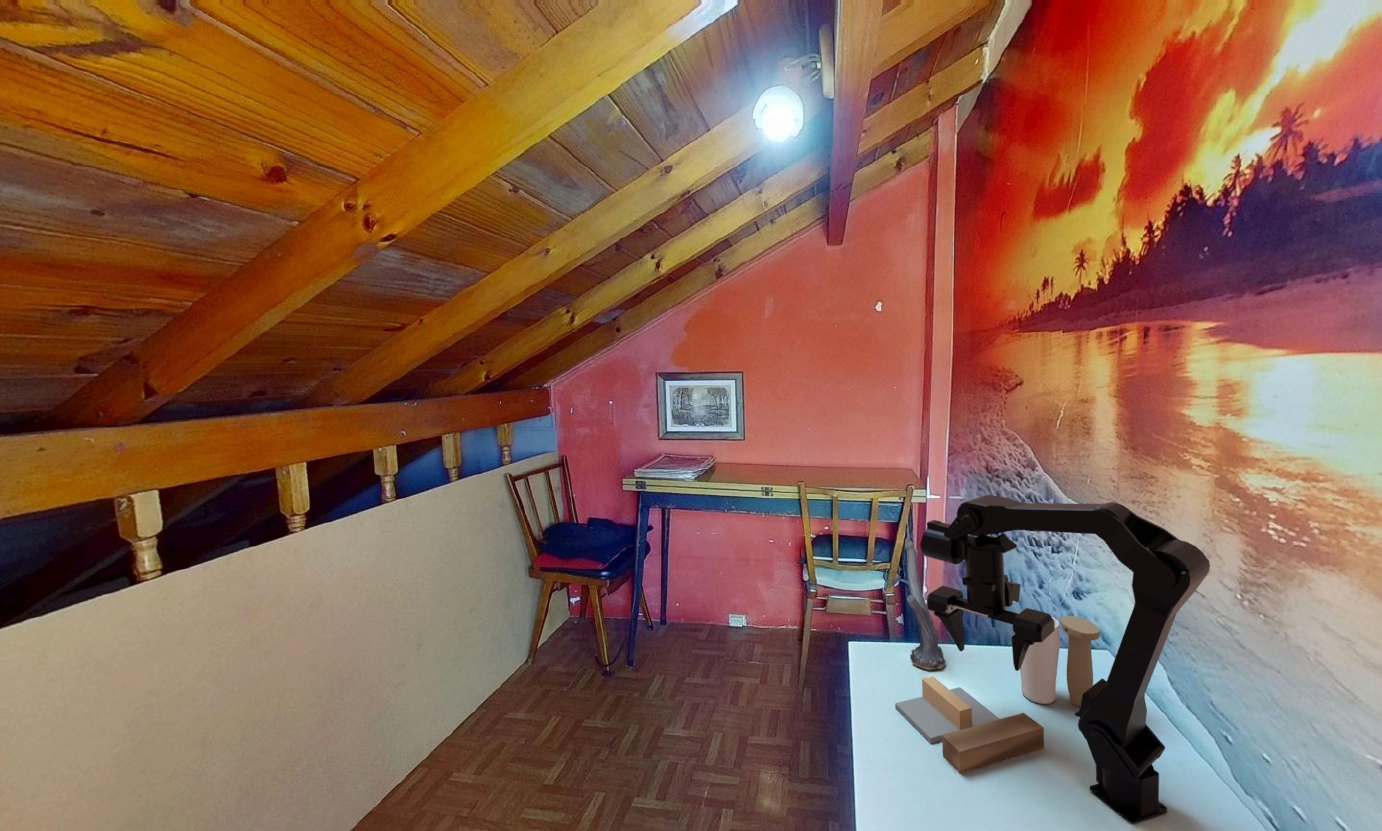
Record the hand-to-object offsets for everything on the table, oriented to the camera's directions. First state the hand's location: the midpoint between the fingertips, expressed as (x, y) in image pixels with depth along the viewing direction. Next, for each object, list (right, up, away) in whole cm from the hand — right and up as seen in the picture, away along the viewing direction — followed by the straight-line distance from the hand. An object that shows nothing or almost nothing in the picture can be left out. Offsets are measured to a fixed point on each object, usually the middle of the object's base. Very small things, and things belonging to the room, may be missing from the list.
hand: (988, 659), depth 95 cm
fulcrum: (-5, -12, +5) cm, 14 cm away
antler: (-1, -10, +24) cm, 26 cm away
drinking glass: (+14, -11, +8) cm, 19 cm away
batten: (-2, -14, -4) cm, 14 cm away
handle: (+20, -11, +6) cm, 23 cm away
